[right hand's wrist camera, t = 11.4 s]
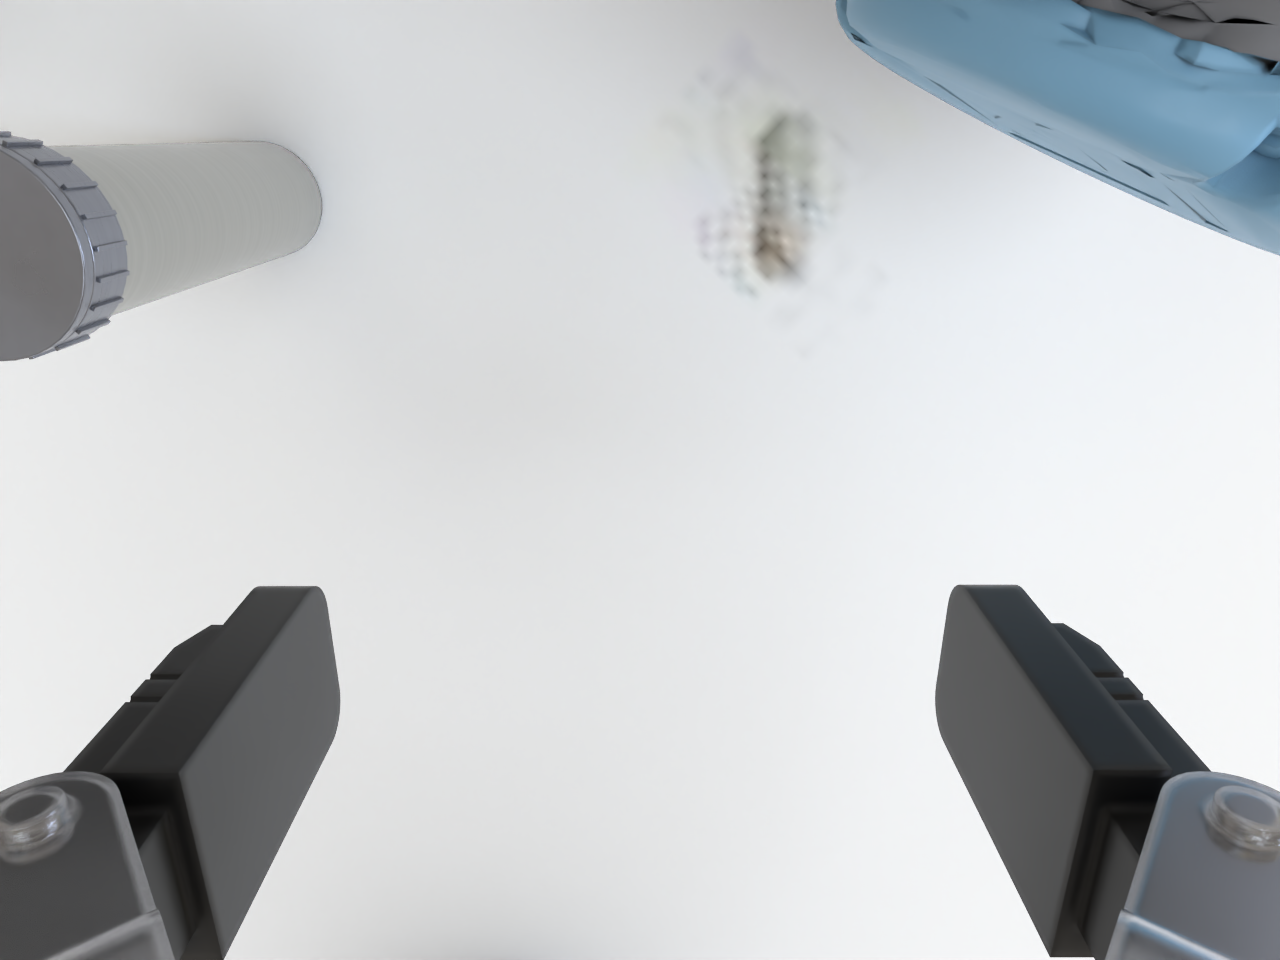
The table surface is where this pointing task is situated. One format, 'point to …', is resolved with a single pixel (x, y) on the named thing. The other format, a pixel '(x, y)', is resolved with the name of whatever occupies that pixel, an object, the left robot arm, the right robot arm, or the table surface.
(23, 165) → the lid
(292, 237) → the jar
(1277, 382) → the table surface
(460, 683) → the table surface
